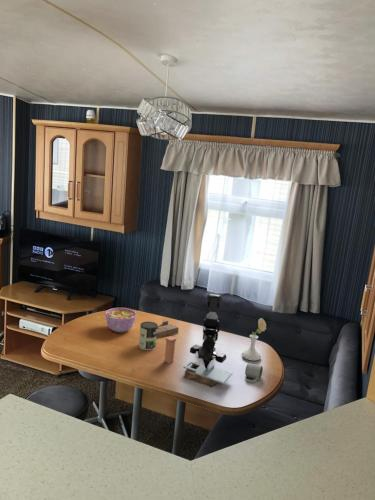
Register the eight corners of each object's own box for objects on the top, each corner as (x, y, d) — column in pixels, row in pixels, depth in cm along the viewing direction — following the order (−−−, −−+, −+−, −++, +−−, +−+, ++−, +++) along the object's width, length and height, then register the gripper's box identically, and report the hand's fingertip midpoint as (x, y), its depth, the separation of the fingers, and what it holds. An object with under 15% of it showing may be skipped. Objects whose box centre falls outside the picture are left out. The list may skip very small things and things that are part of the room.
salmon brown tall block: (168, 358, 226) (170, 336, 223) (174, 361, 224) (176, 338, 221) (163, 361, 223) (165, 337, 220) (168, 363, 220) (171, 340, 218)
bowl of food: (110, 322, 269) (111, 305, 267) (138, 326, 267) (139, 310, 265) (99, 333, 250) (100, 316, 248) (130, 338, 248) (131, 321, 245)
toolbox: (184, 377, 208) (185, 370, 207) (194, 367, 219) (195, 361, 218) (212, 387, 201) (212, 380, 200) (221, 377, 212) (221, 370, 211)
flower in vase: (248, 363, 230) (254, 323, 224) (237, 354, 239) (242, 315, 234) (266, 360, 236) (272, 321, 230) (255, 351, 245) (260, 313, 240)
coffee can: (157, 344, 243) (159, 322, 240) (153, 351, 233) (154, 329, 230) (141, 341, 245) (143, 320, 242) (136, 348, 235) (138, 326, 232)
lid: (181, 369, 208) (181, 365, 208) (191, 360, 219) (192, 356, 218) (223, 384, 198) (224, 379, 197) (232, 374, 208) (232, 370, 208)
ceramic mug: (247, 372, 220) (249, 359, 218) (262, 376, 216) (263, 363, 215) (242, 381, 210) (243, 368, 208) (257, 385, 207) (258, 372, 205)
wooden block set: (180, 325, 262) (157, 330, 250) (179, 333, 263) (157, 339, 251) (165, 316, 274) (143, 321, 263) (164, 324, 275) (142, 329, 264)
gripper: (186, 341, 202) (183, 368, 205) (219, 351, 194) (216, 380, 197) (196, 333, 212) (193, 360, 215) (228, 343, 204) (224, 371, 207)
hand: (206, 368), depth 208 cm, fingers closed
